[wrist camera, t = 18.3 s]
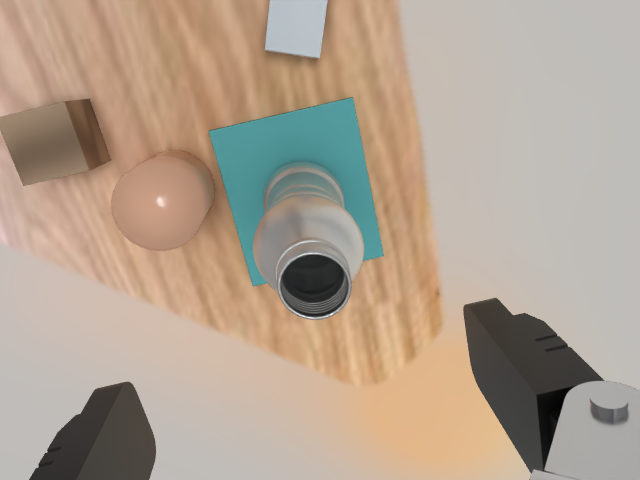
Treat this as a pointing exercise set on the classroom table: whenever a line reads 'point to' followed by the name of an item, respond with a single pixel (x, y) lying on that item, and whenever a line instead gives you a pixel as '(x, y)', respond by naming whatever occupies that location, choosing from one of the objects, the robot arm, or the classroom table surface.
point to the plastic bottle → (307, 240)
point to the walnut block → (54, 141)
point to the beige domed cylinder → (163, 200)
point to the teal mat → (291, 146)
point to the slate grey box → (296, 27)
